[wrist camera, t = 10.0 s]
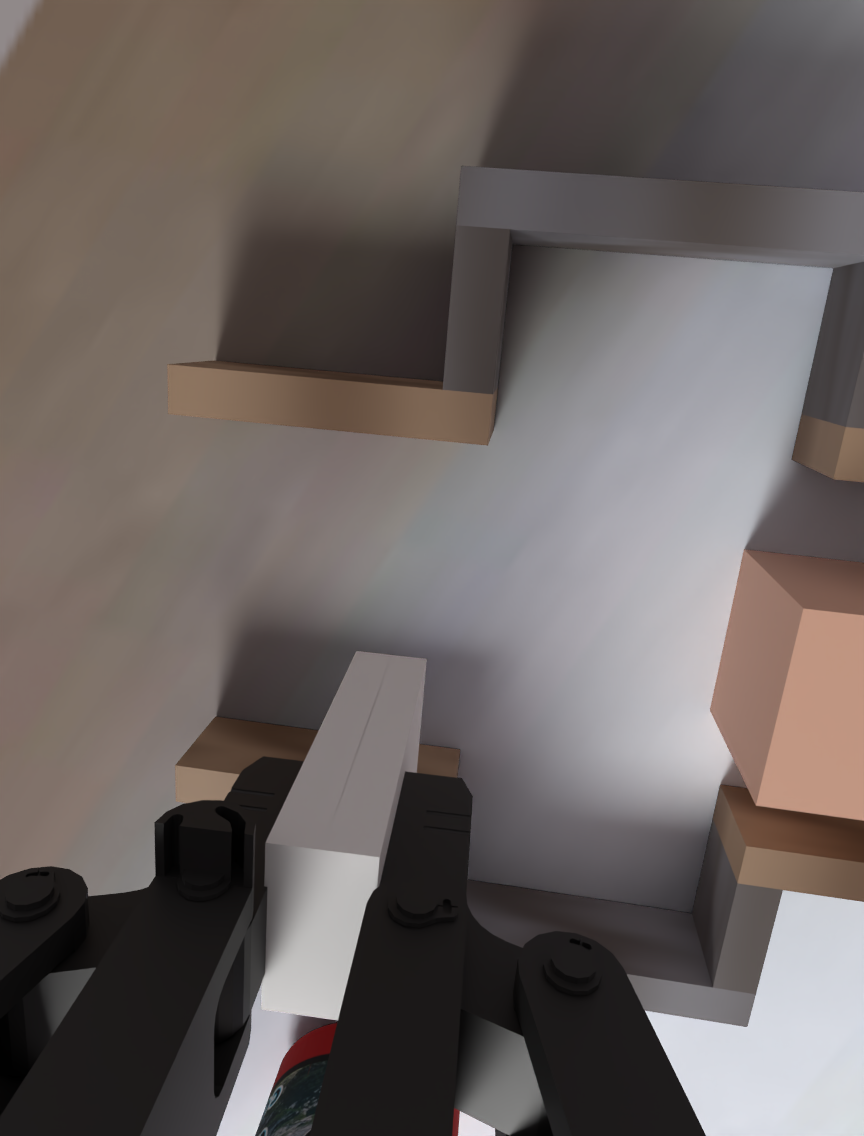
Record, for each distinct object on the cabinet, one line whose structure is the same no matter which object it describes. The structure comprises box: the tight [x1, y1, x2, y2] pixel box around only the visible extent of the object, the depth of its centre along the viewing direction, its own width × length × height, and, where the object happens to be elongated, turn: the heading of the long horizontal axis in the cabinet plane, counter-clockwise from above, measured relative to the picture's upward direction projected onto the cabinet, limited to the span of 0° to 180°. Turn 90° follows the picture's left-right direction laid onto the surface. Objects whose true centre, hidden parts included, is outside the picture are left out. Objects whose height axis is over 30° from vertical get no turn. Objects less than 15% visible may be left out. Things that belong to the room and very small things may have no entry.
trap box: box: [167, 166, 864, 1027], centre depth 21 cm, size 23×22×3 cm
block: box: [710, 549, 864, 821], centre depth 20 cm, size 5×5×5 cm
